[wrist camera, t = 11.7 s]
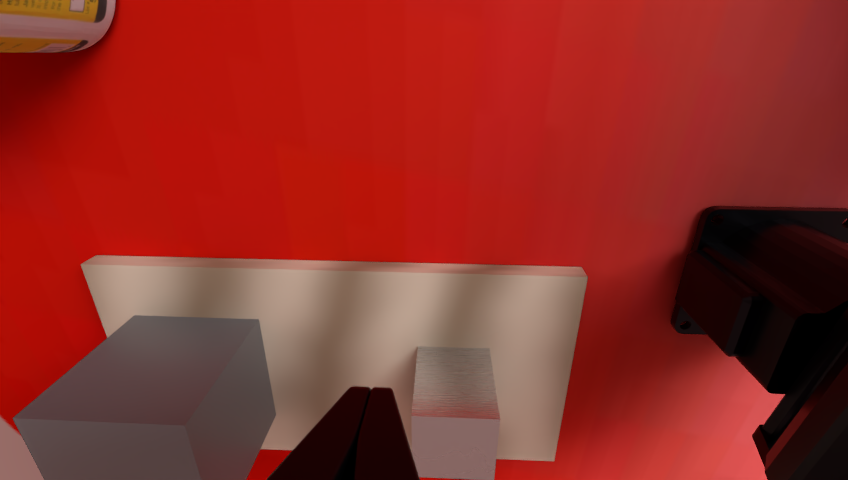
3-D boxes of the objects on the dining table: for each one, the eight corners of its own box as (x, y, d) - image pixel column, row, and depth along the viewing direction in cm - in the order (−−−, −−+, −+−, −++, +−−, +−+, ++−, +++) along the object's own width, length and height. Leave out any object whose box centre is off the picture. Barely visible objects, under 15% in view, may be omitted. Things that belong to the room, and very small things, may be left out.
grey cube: (489, 348, 21) (500, 419, 17) (485, 402, 23) (493, 480, 19) (417, 346, 21) (411, 416, 17) (418, 400, 23) (412, 476, 19)
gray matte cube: (259, 319, 21) (184, 425, 15) (276, 414, 24) (218, 538, 18) (134, 315, 21) (12, 418, 15) (164, 410, 24) (70, 530, 18)
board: (581, 266, 20) (587, 276, 19) (550, 446, 25) (554, 461, 24) (96, 255, 21) (80, 264, 20) (156, 430, 26) (146, 444, 25)
